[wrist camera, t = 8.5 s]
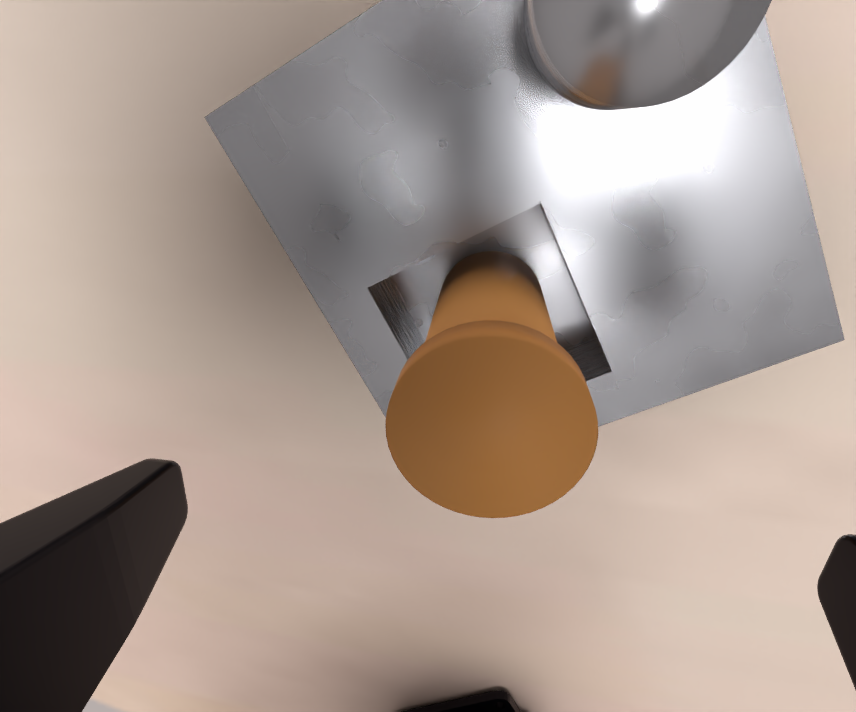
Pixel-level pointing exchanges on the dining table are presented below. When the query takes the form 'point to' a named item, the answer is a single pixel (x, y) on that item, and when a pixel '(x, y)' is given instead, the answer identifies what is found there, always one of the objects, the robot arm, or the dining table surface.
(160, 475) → the robot arm
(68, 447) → the dining table surface
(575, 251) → the grey slotted base
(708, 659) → the dining table surface
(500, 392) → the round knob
